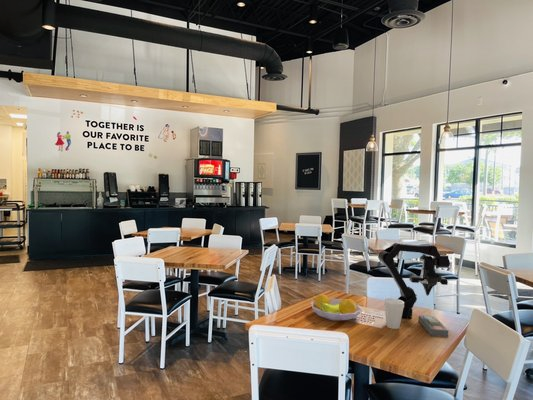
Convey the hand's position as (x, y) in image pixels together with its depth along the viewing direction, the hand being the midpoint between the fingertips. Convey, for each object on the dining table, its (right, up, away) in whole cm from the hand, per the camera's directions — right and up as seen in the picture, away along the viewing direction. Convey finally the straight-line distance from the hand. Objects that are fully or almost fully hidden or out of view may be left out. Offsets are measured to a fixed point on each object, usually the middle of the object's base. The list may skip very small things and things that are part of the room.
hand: (427, 295), depth 209 cm
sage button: (-4, -10, -16) cm, 20 cm away
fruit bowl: (-52, -10, -5) cm, 54 cm away
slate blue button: (-4, -11, -9) cm, 15 cm away
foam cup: (-24, -12, -16) cm, 32 cm away
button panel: (-4, -13, -16) cm, 21 cm away
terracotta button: (-5, -12, -23) cm, 26 cm away
